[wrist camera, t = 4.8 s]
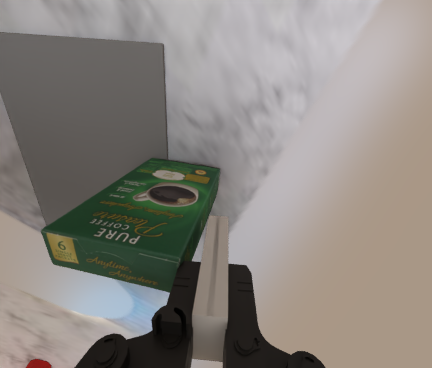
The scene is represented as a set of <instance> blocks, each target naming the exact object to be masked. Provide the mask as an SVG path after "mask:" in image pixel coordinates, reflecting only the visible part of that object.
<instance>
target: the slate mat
mask: <svg viewBox="0 0 432 368" xmlns="http://www.w3.org/2000/svg"><path fill="white" fill-rule="evenodd" d="M0 93H1V96H2V99H3V101H4V104H5V107H6V110H7V113H8V116H9V119H10V122H11V125H12V127H13V130H14V133H15V136H16V139H17V142H18V145H19V148H20V151H21V153H22V156H23V159H24V162H25V165H26V168H27V171H28V174H29V177H30V179H31V182H32V185H33V188H34V191H35V194H36V197H37V200H38V203H39V205H40V208H41V211H42V214H43V217H44V220H45V223H46V226H47V225H49V224H51V223H52V222H54V221H55V220H57V219H58V218H60V217H61V216H63V215H64V214H66V213H67V212H69V211H71V210H72V209H74V208H75V207H77V206H78V205H80V204H81V203H83V202H84V201H86V200H87V199H89V198H91V197H92V196H94V195H95V194H97V193H98V192H100V191H101V190H103V189H104V188H106V187H108V186H109V185H111V184H112V183H114V182H115V181H117V180H118V179H120V178H121V177H123V176H124V175H126V174H127V173H129V172H131V171H132V170H134V169H135V168H137V167H138V166H140V165H141V164H142V163H144V162H145V161H147V160H149V159H151V158H156V159H162V160H168V147H167V121H166V96H165V70H164V45H163V44H162V43H148V42H133V41H119V40H105V39H90V38H76V37H62V36H47V35H33V34H19V33H4V32H0Z"/></svg>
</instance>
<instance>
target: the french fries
mask: <svg viewBox="0 0 432 368" xmlns="http://www.w3.org/2000/svg"><path fill="white" fill-rule="evenodd" d="M26 368H51V365H50V364H49V363H48V362H46V361H43V360H39V359H35V360H31V361H30V362H29V364H28V365H27V367H26Z"/></svg>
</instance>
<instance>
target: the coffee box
mask: <svg viewBox="0 0 432 368" xmlns="http://www.w3.org/2000/svg"><path fill="white" fill-rule="evenodd" d="M219 177H220V169H218V168H212V167H207V166H198V165H192V164H187V163H180V162H175V161H169V160H162V159H156V158H151V159H149V160H147V161H145V162H144V163H142V164H141V165H140V166H138V167H137V168H135V169H134V170H132V171H131V172H129V173H127V174H126V175H124V176H123V177H121V178H120V179H118V180H117V181H115V182H114V183H112V184H111V185H109V186H108V187H106V188H104V189H103V190H101V191H100V192H98V193H97V194H95V195H94V196H92V197H91V198H89V199H87V200H86V201H84V202H83V203H81V204H80V205H78V206H77V207H75V208H74V209H72V210H71V211H69V212H67V213H66V214H64V215H63V216H61V217H60V218H58V219H57V220H55V221H54V222H52V223H51V224H49V225H47V226H46V227H44V228H43V229H42V230H41V233H42V235H43V238H44V241H45V244H46V247H47V249H48V253H49V255H50V258H51V260H52V263H53V264H54V265H58V266H62V267H67V268H71V269H75V270H80V271H84V272H88V273H92V274H97V275H101V276H105V277H109V278H113V279H117V280H121V281H125V282H129V283H134V284H138V285H142V286H146V287H150V288H154V289H158V290H162V291H166V292H171V288H172V286H173V282H174V279H175V275H176V272H177V269H178V268H179V266H180V265H181V264H182V262H183V261H192V258H193V256H194V253H195V251H196V248H197V246H198V243H199V240H200V237H201V235H202V232H203V230H204V227H205V224H206V222H207V219H208V216H209V214H210V211H211V209H212V206H213V203H214V200H215V198H216V194H217V191H218V185H219Z"/></svg>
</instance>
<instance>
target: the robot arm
mask: <svg viewBox="0 0 432 368" xmlns="http://www.w3.org/2000/svg"><path fill="white" fill-rule="evenodd" d="M253 291H254V290H253V283H252V275H251V272H250V271H249V269H248V267H247V266H246V265H237V264H228V217H224V216H210V215H209V219H208V225H207V231H206V237H205V243H204V249H203V254H202V260H201V262H193V261H183V262H182V264H181V265H180V266H179V268H178V269H177V272H176V275H175V279H174V282H173V286H172V288H171V292H170V295H169V298H168V302H167V305H166V306H163V307H161V308H160V309H159V310H158V311H157V312H156V313H155V315H154V316H153V318H152V328H153V330H152V331H151V332H149V333H147V334H145V335H142V336H139V337H135V338H131V339H127V340H126V338H124V337H123V336H122V335H120V334H110V335H106V336H104V337H103V338H101V339H99V340H98V341H97V342H96V343H95V344H94V345H93V346H92V347H91V348H90V349H89V350H88V351H87V353H86V354H85V355H84V356H83V358H82V359H81V360H80V361H79V363H78V364H77V365H76V367H75V368H190V367H191V361H192V359H200V360H209V361H220V362H223V368H325V366H324V365H323V364H322V362H321V361H320V360H318V359H317V358H316V357H315V356H314V355H312V354H310V353H308V352H305V351H297V352H295V353H293V354H292V355H290V354H288V353H286V352H284V351H282V350H279V349H277V348H275V347H274V346H272V345H271V344H269V343H268V342H267V341H266V340H265V339H264V337H263V336H262V334H261V333H260V330H259V327H258V322H257V314H256V306H255V298H254V293H253Z"/></svg>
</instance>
